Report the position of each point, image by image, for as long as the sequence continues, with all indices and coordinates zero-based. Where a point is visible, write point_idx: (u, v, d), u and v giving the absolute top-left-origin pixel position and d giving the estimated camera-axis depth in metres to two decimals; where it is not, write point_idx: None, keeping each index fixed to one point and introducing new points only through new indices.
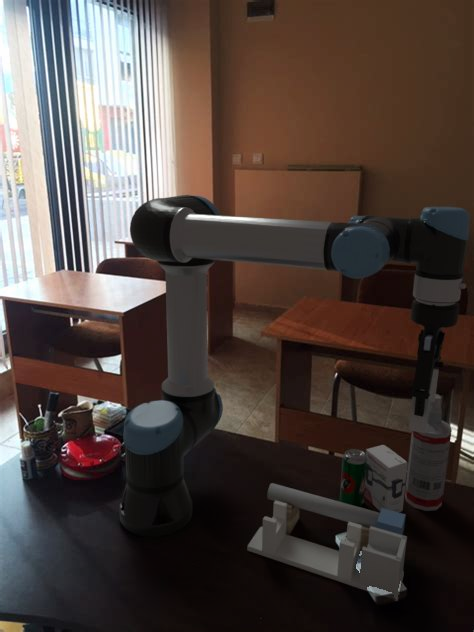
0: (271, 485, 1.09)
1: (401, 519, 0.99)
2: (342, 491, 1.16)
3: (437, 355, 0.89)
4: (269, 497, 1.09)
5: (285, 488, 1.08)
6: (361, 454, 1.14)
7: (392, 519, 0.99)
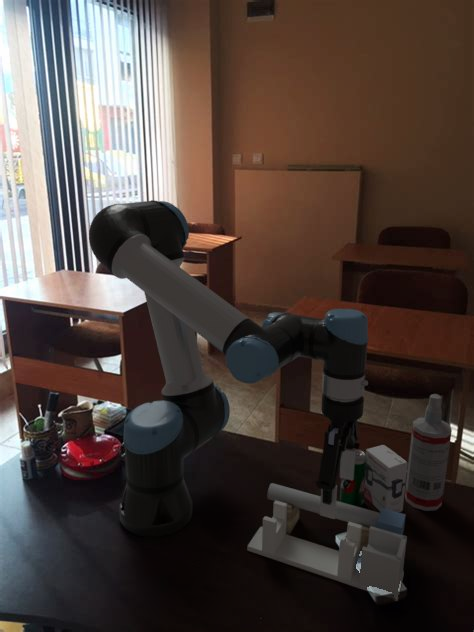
0: (271, 485, 1.09)
1: (401, 519, 0.99)
2: (342, 491, 1.16)
3: (343, 447, 0.96)
4: (269, 497, 1.09)
5: (285, 488, 1.08)
6: (361, 454, 1.14)
7: (392, 519, 0.99)
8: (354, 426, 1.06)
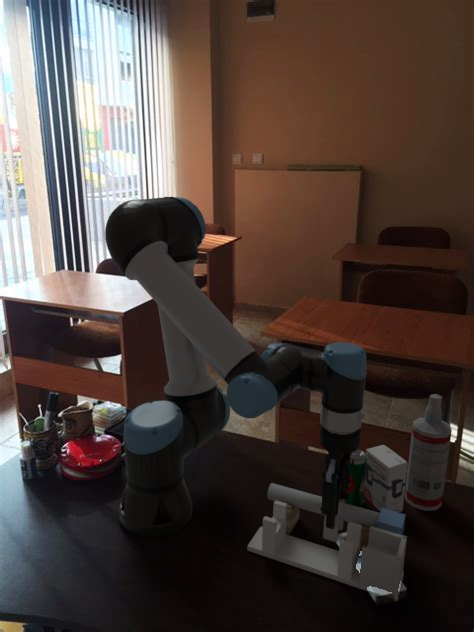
0: (271, 485, 1.09)
1: (401, 519, 0.99)
2: None
3: (342, 478, 1.00)
4: (269, 497, 1.09)
5: (285, 488, 1.08)
6: (361, 454, 1.14)
7: (392, 519, 0.99)
8: None
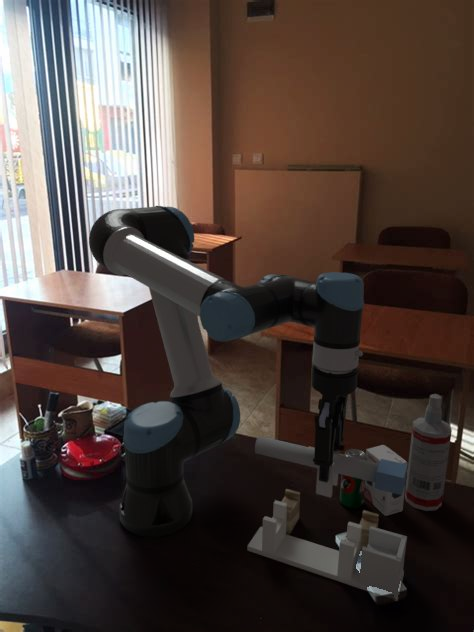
0: (259, 438, 0.99)
1: (403, 469, 0.90)
2: (342, 491, 1.16)
3: (336, 425, 0.90)
4: (257, 451, 0.99)
5: (274, 440, 0.98)
6: (361, 454, 1.14)
7: (392, 469, 0.90)
8: None
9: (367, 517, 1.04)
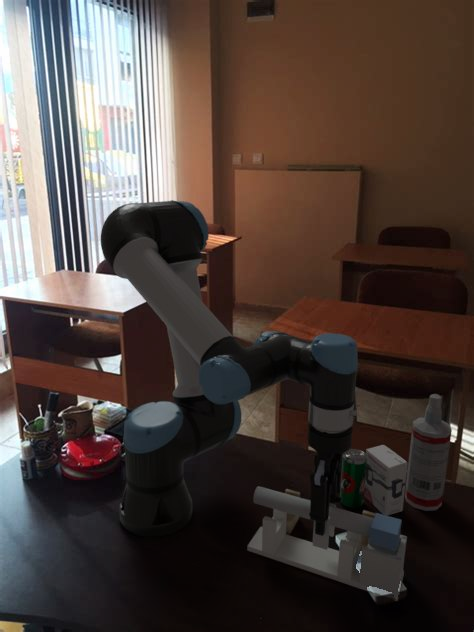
0: (257, 488, 1.02)
1: (397, 525, 0.92)
2: (342, 491, 1.16)
3: (332, 481, 0.92)
4: (255, 501, 1.01)
5: (272, 491, 1.01)
6: (361, 454, 1.14)
7: (387, 525, 0.92)
8: None
9: None
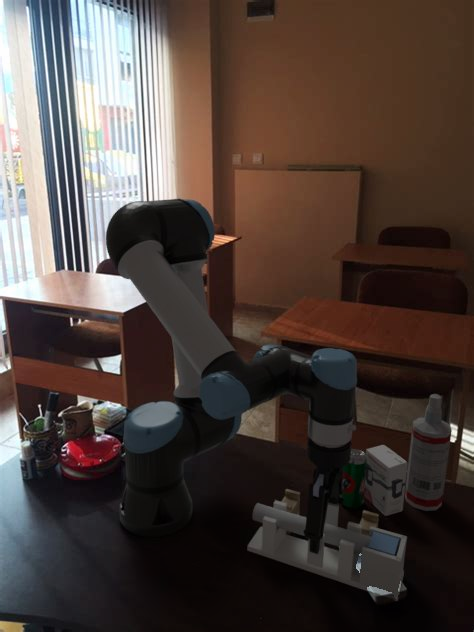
0: (256, 505, 1.03)
1: (394, 544, 0.93)
2: None
3: (330, 495, 0.92)
4: (254, 518, 1.02)
5: (271, 509, 1.02)
6: (361, 454, 1.14)
7: (384, 544, 0.93)
8: (340, 475, 1.00)
9: (367, 517, 1.04)
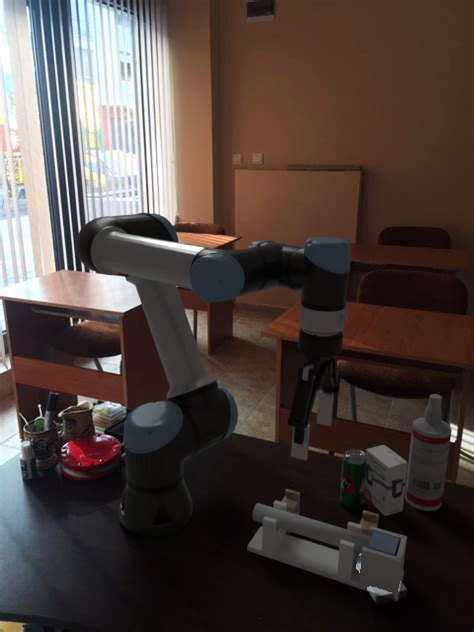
0: (256, 505, 1.03)
1: (394, 544, 0.93)
2: (342, 491, 1.16)
3: (319, 384, 0.90)
4: (254, 518, 1.02)
5: (271, 509, 1.02)
6: (361, 454, 1.14)
7: (384, 544, 0.93)
8: (333, 368, 1.00)
9: (367, 517, 1.04)
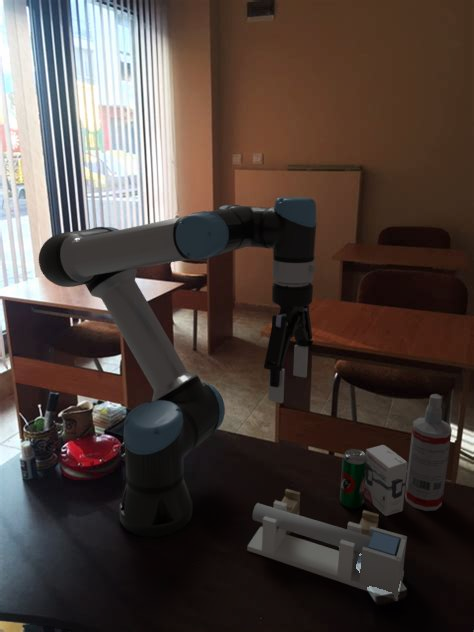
0: (256, 505, 1.03)
1: (394, 544, 0.93)
2: (342, 491, 1.16)
3: (291, 332, 0.98)
4: (254, 518, 1.02)
5: (271, 509, 1.02)
6: (361, 454, 1.14)
7: (384, 544, 0.93)
8: (307, 322, 1.08)
9: (367, 517, 1.04)
